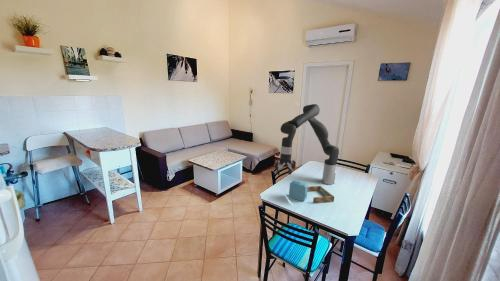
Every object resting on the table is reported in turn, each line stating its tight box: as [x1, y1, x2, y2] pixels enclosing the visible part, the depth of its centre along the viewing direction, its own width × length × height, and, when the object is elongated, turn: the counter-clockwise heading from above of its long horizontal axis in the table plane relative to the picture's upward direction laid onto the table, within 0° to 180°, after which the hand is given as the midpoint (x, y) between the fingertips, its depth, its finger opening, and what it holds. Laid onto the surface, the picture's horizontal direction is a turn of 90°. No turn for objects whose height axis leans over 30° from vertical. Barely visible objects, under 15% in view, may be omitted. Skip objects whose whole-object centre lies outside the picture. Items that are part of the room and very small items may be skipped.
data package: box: [288, 180, 309, 202], centre depth 147 cm, size 12×4×12 cm, turn 54°
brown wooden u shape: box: [307, 185, 335, 204], centre depth 152 cm, size 16×18×4 cm
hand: (284, 174), depth 142 cm, fingers open, 8 cm apart
